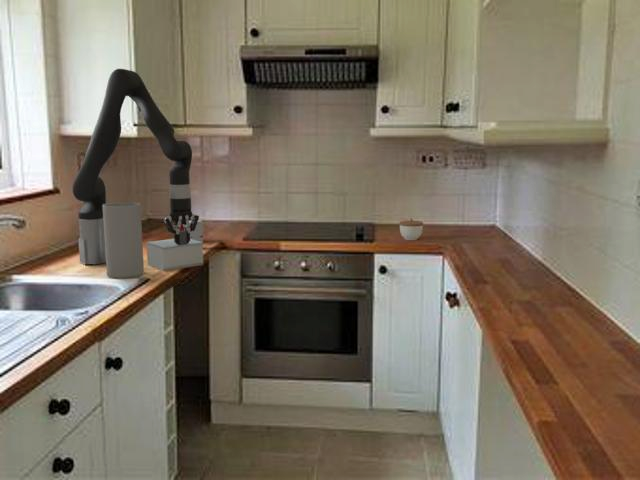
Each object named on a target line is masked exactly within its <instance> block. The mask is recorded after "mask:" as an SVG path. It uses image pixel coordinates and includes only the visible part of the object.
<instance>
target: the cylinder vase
mask: <svg viewBox="0 0 640 480" xmlns="http://www.w3.org/2000/svg"><path fill="white" fill-rule="evenodd" d="M141 209H142V207H141V203H140V202H134V201H133V202H132V201H130V202H128V201H126V202H125V201H124V202H123V201H121V202H111V203H110V202H109V203H106V204H103V220H104V236H105V251H106V262H105V263H106V264H105V265H106V266H105V267H106V276H107V277H109V278H111V277H113V278H112V279H118V278H123V279H131V278H137V277H141V276H143V274H144V273H145V266H144V262H145V261H144V247H143V244H144V243H143V230H142V228H143V227H142V225H143V224H142V210H141Z"/></svg>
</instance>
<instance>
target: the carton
mask: <svg viewBox="0 0 640 480" xmlns="http://www.w3.org/2000/svg"><path fill="white" fill-rule="evenodd" d="M145 246H146V259H147V260H146V262H147V263H146V265H148V266H149V267H152V268H155V269H157V270H160V271H163V272H165V271H167V272H168V271H173V270H179V269H180V270H181V269H186V268H194V267H198V266H204V243H203V244H199V245H192V246H184V247H176V248H169V249H161V248H158V247H155V246H152V245H149V244H146V245H145Z"/></svg>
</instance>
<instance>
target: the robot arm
mask: <svg viewBox="0 0 640 480" xmlns="http://www.w3.org/2000/svg"><path fill="white" fill-rule="evenodd" d="M109 75H110V76H109V77H108V81H107V84H106V89H105V95H104V98H103V102H102V105H101V109H100V111H99V115H98V118H97V120H96V123H95V126H94V129H93V131H92V134H91V137H90V140H89V144H88V147H87V149H86V153H85V155H84V159H83V161H82V164H81V166H80V168H79V170H78V172H77V175H76V176H75V179H74V181H73V184H72V195H73V196H74V198H75V199H76V200H78V201H80V202H83V203H82V207H81V208H80V210H79V211H78V213H77V214H78V226H79V227H78V229H79V238H78V241H77V242H78V254H79V263H80V262H82V263H84V264H93V265H101V263H102V264H105V263H106V251H105V236H104V220H103V204H107V202H106V201H107V196H106V195H107V194H106V192H107V191H106V186H105V182H104V179H102V177H100V173H101V171H102V168H103V167H104V166H105V164H106V162H108V160H109V159H110V158H111V157H112V156H113V153H114V152H115V151H116V148H117V146H118V143H119V140H120V137H121V134H122V121H121V119H122V118H121V113H122V112H121V111H122V107H123V104H124V101H125V99H126V97H128V98H130V99H131V100H132V101H133V102H134V103H135V104H136V105H137V107H138V108H139V110H140V112H141V114H142V117H143V121H144V122H145V125H146V127H147V128H148V129H149V130H150V132H151V133H152V135H153V136H154V137H155V138H156V140H157V141H158V144H159V146H160V148H161V151H162V152H163V154H164V156H165V157H166V158H167V159H168V160H170V161H172V162H174V164H173V167H172V168H171V169H170V170H169V173H168V174H169V207H170V213H169V215H168V216H167V217H163V218H162V220H163V222H164V225H165V227H166V229H167V231H168V232H169V233H170V234H173V239H174V242H175V243H176V244H180V234H179V230H180V227H181V225H182V224H183V227H184V230H185V231H187V243H189V242H190V232H191V231H194V230H195V228H196V225H197V222H198V220H200V219H199V218H200V215H197V214H193V212H192V193H191V184H190V183H191V182H190V169H191V164H192V160H193V150H192V146H191V145H190V143H189V142H188V141H185V140H177V139H176V138H175V136H174V135H175V134H176V133H175V128H174V127H173V126H172V124H171V122H169V121H168V119H167V118H166V117H165V115H164V114H163V113H162V112H161V110H160V109H159V107H158V106H157V104H156V103H155V101H154V99H153V97H152V95H151V94H150V92H149V91H148V88H147V87H146V85H145V83H144V80H143V79H142V77H141V76H140V75H139V74H138V72H136V71H134V70H129V69H126V68H117V69H114V70H113V71H112V72H111V74H109ZM190 218H191V219H192V221H191V224H190V223H189V220H190ZM172 222H173V225H172ZM82 263H81V264H82ZM84 264H83V265H84Z"/></svg>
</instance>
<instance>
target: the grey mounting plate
mask: <svg viewBox="0 0 640 480" xmlns="http://www.w3.org/2000/svg"><path fill="white" fill-rule="evenodd" d="M179 234H180V244H176V243H175V242H174V238H170V239H163V240H154V241H153V240H152V241H145V243H146V244H149V245H152V246H155V247H158V248H161V249H169V248H176V247H184V246H192V245H199V244H203V245H204V241H203V242H200V241H196V240H193V239H190V242H189V243H187V231H185V230H184V231H179Z"/></svg>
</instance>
